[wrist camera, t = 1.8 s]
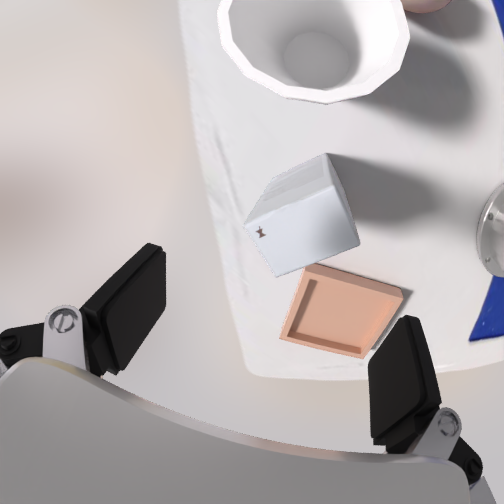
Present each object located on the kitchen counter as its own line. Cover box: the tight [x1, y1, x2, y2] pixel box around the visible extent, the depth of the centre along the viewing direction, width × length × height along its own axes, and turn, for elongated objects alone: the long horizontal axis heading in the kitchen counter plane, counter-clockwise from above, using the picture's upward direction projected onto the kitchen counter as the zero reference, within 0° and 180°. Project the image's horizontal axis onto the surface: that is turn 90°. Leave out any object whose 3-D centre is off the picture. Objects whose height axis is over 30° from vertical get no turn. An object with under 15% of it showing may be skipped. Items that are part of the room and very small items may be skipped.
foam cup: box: [217, 0, 410, 105], centre depth 14 cm, size 10×9×13 cm
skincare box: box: [243, 153, 360, 277], centre depth 21 cm, size 6×4×12 cm
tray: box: [279, 263, 404, 359], centre depth 31 cm, size 12×11×2 cm
